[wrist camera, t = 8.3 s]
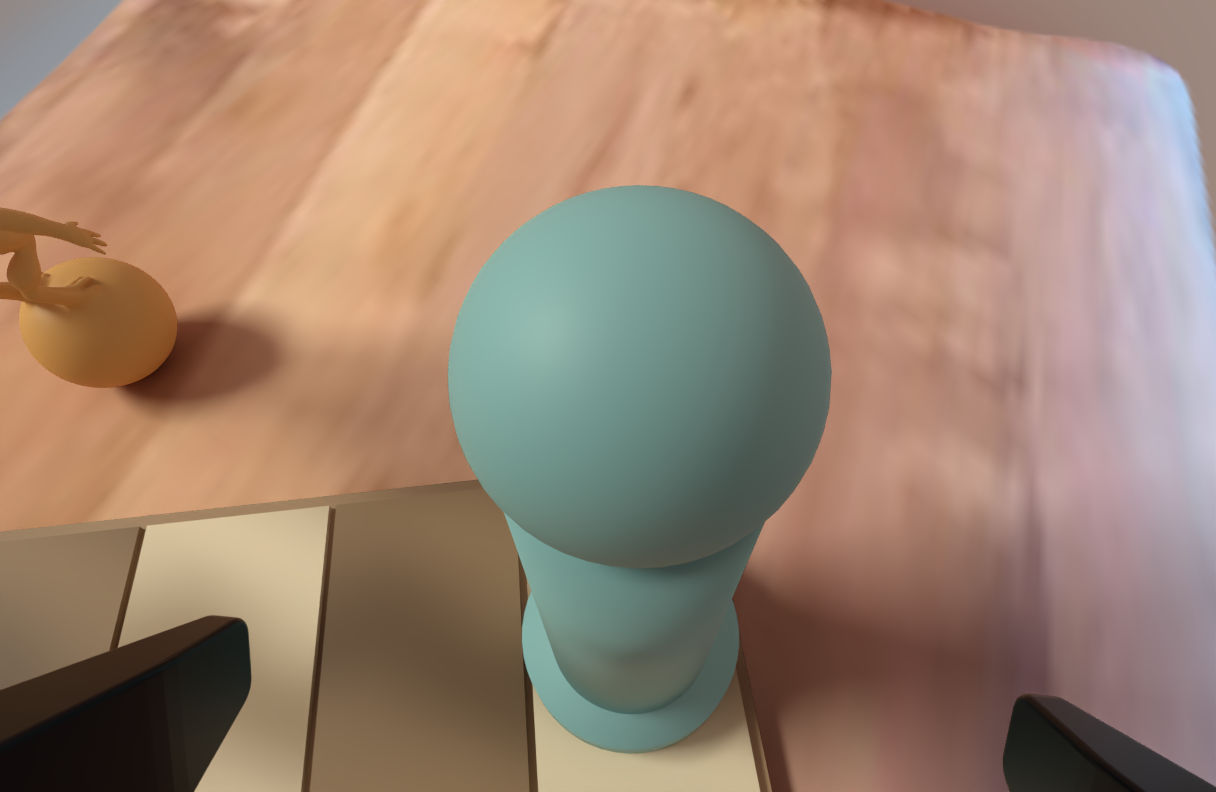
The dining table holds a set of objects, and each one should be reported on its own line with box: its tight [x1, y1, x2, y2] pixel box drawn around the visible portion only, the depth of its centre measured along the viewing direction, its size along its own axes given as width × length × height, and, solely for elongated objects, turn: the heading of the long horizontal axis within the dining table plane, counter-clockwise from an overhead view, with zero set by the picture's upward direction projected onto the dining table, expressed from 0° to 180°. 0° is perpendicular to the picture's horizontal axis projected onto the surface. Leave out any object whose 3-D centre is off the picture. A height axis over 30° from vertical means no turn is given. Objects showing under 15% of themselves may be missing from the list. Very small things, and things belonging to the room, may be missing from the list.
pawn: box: [448, 185, 832, 754], centre depth 12 cm, size 5×5×14 cm
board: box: [0, 480, 772, 792], centre depth 18 cm, size 10×21×1 cm, turn 97°
